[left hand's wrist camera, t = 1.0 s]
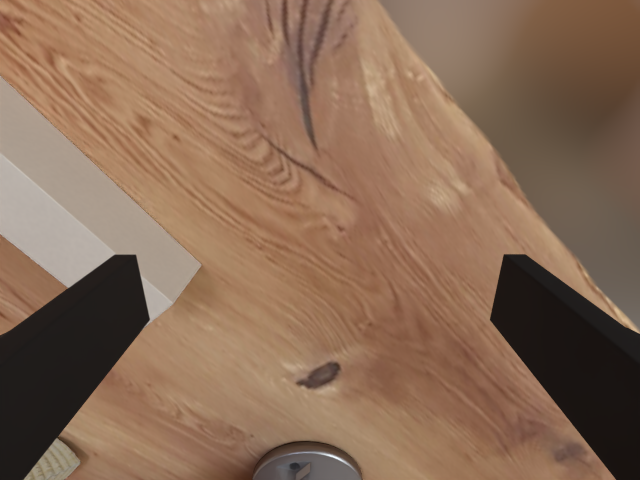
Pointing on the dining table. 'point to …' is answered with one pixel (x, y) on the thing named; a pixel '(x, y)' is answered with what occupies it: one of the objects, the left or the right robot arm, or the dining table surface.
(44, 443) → the left robot arm
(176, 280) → the bar
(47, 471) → the seashell
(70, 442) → the dining table surface
